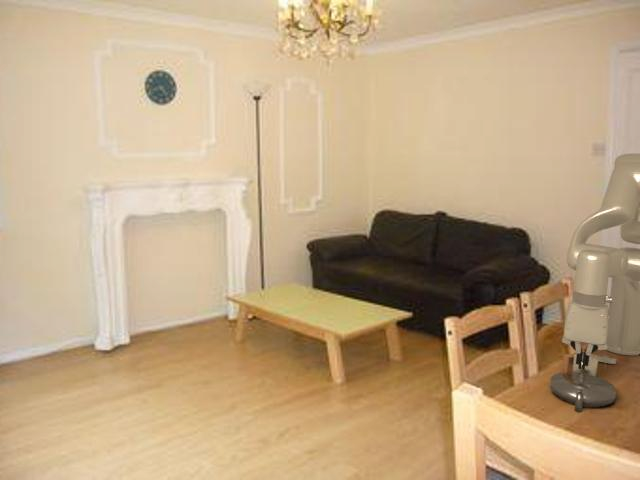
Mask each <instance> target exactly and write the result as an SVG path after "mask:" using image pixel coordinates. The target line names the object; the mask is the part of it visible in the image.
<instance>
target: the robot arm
mask: <svg viewBox="0 0 640 480" xmlns="http://www.w3.org/2000/svg"><path fill="white" fill-rule="evenodd" d="M609 178H610V179H609V181H608V184H607V187H606V191H605V193H604V197H603V199H602V202H601V206H600V208H599V209H598V210H597V211H595V212H593V213H592V214H590V215H589V216H587V217H586V218H585V219H584V220H583V221H582V222H581V223H579V224H578V226H577V227H576V229H575V230H574V232H573V235H572V237H571V241H570V243H569V246H568V250H567V253H566V254H567V255H566V262H567V265H568V267H569V268H570V269H571V270H573V271H575V277H574V286H573V294H572V295H573V296H572V299H571V300H569V301H568V302H569V303H568V306H567V309H566V312H565V314H566V315H565V319H564V325H563V335H562V338H561V343H563V344H566V345H568V346H570V347H571V348H572V349H573V350H574V351H575V353H577V357H576V364H578V365H579V366H578V369H581V366H582V369H583V370H585V366H588V363H589V355H591V354H593V353H595V352H596V351H598V350H599V351H602V350H603V351H608V352H611V353H613V354H616V355H617V354H618V355H622V356H623V355H624V356H640V355H639V354H640V248H639V247H629V246H627V247H625V246H624V247H619V248H618V247H612V246H605V245H600V244H591V243H586V242H587V241H588V239H589V238H590V237H592V236H593V235H594V234H596V233H599V232H601V231H603V230H606V229H610V228H616V227H617V226H620V237H621V239H622V240H623V241H624V242H626V243H629V244H634V245H640V153H637V152H636V153H623V154H620V155H618V156H617V157H616V158H615V159H614V163H613V169H612V171H611V174H610V177H609ZM609 278H611V287H610V294H609V295H610V296H608V294H607V292H608V285H609ZM607 304H608V305H607ZM582 344H587V345H586V348H585V349H584V351H583V348H582ZM583 352H584V353H583ZM582 357H583V362H582Z"/></svg>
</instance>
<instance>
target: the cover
mask: <svg viewBox="0 0 640 480" xmlns="http://www.w3.org/2000/svg"><path fill="white" fill-rule="evenodd" d="M582 352H583V353H584V352H585V351H582ZM597 356H598V355H597ZM597 356H595V354H593V353H592V354H591V355H589V363H588V366H585V370H583V369H582V366H581V369H578V366H579V365H578V364H576V357H577V353H576V352H575V353H574V354H573V357H574V363H573V372H577V373H584V374H589V375H593V376H596V377H597V373H598V372H597V370H598V364H599V361H598V357H597ZM582 362H583V357H582Z"/></svg>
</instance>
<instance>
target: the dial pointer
mask: <svg viewBox="0 0 640 480" xmlns="http://www.w3.org/2000/svg"><path fill="white" fill-rule="evenodd" d="M583 397H584V394H583V393H582V390H579V392H577V393H576V401H575V404H574V411H575V412H577V413H582V412H583V407H584V406H583Z"/></svg>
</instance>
